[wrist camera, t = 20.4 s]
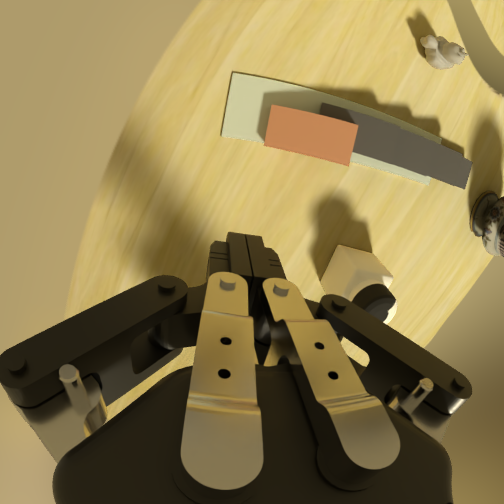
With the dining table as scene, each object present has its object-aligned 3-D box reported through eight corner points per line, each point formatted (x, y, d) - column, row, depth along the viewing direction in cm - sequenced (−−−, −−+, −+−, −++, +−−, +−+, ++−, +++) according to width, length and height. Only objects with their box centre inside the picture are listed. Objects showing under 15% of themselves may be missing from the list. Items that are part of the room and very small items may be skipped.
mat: (440, 138, 35) (441, 138, 35) (427, 184, 39) (428, 185, 39) (232, 73, 29) (232, 72, 29) (221, 136, 33) (221, 136, 33)
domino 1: (273, 105, 31) (356, 125, 30) (266, 144, 34) (346, 163, 33) (271, 104, 30) (358, 125, 29) (263, 145, 32) (348, 166, 31)
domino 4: (400, 130, 34) (457, 152, 33) (392, 163, 36) (449, 183, 35) (404, 130, 32) (462, 154, 31) (396, 165, 35) (454, 186, 34)
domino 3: (364, 117, 33) (430, 140, 32) (356, 152, 35) (421, 173, 34) (367, 117, 31) (435, 142, 30) (358, 153, 34) (426, 176, 33)
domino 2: (321, 103, 32) (396, 126, 31) (313, 140, 34) (387, 162, 33) (322, 102, 30) (400, 126, 29) (313, 141, 32) (391, 164, 32)
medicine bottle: (318, 282, 45) (345, 335, 35) (337, 243, 42) (373, 291, 32) (354, 288, 47) (385, 338, 37) (373, 252, 44) (412, 298, 33)
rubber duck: (437, 77, 30) (474, 80, 23) (407, 51, 28) (444, 48, 22) (447, 53, 28) (483, 53, 21) (418, 26, 26) (453, 20, 19)
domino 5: (427, 141, 35) (465, 159, 37) (419, 171, 37) (457, 185, 39) (434, 143, 33) (472, 162, 35) (426, 175, 36) (464, 189, 38)
